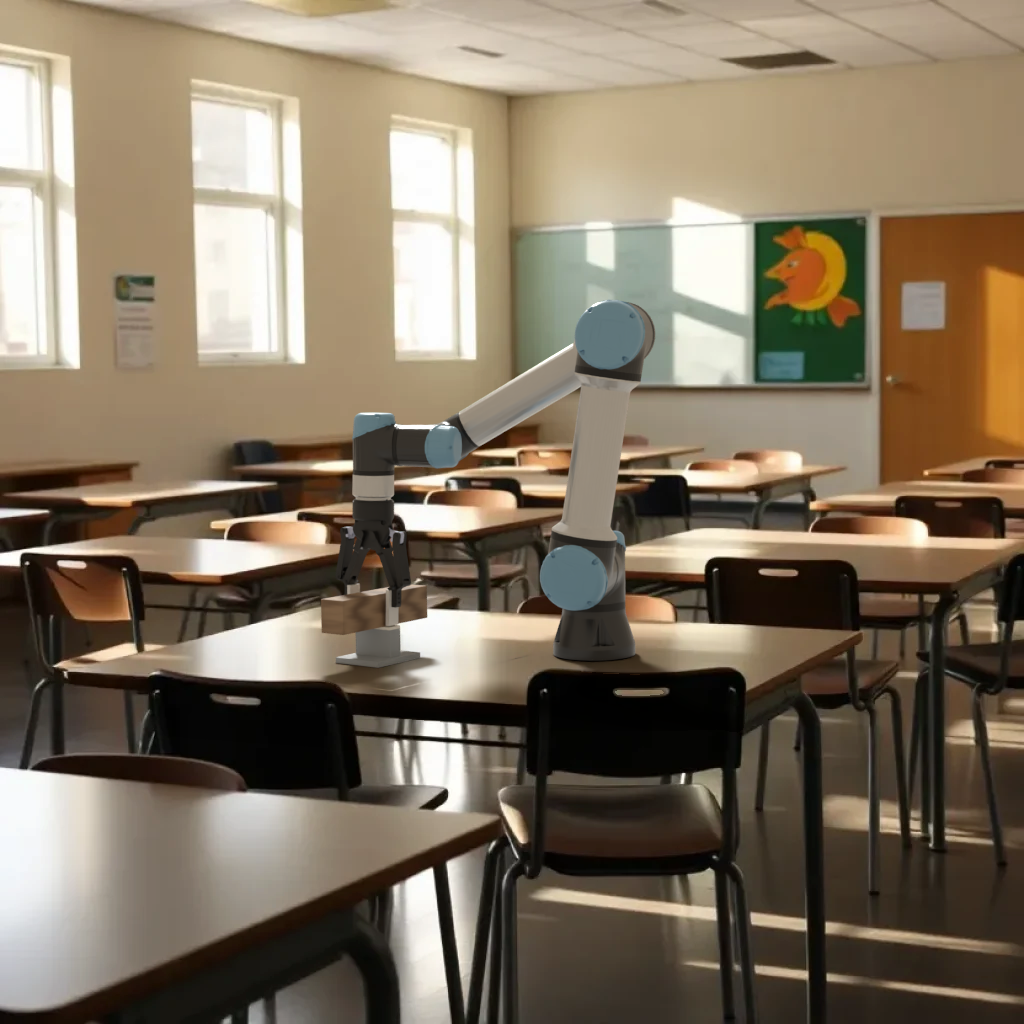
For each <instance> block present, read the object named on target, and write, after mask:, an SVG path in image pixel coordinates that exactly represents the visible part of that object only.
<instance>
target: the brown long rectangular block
mask: <svg viewBox="0 0 1024 1024" xmlns="http://www.w3.org/2000/svg"><path fill="white" fill-rule="evenodd" d="M387 588H389V586H386V587H381V588H376V589H371V590H370V589H369V590H364V591H360V592H358V593H353V594H347V595H345V594H343V595H336V596H332V597H326V598H321V599H320V616H321V617H320V618H321V621H320V622H321V634H328V635H339V636H345V635H351V634H356V632H361V631H365V630H370V629H375V628H380V627H385V626H386V590H388V589H387ZM427 618H428V585H422V584H412V583H411V585H410V586H406V587H404V588H402V591H401V607H399V609H398V624H397V625H399V624H404V623H407V622H412V621H413V622H414V621H417V620H423V619H427Z"/></svg>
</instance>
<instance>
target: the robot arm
mask: <svg viewBox="0 0 1024 1024" xmlns="http://www.w3.org/2000/svg"><path fill="white" fill-rule="evenodd" d="M655 341H656V328H655V324H654V322H653V319H652V317H651V316H650V315H649V313H648V312H647V311H646V310H645V309H644V308H642V307H641V306H639V305H638V304H636V303H632V302H629V301H628V302H627V301H624V300H619V299H605V300H601V301H598V302H596V303H594V304H592V305H591V306H590V307H588V308H587V309H586V310H585V311H584V312H583V313H582V314H581V316H580V317H579V318H578V321H577V322H576V326H575V329H574V340H573V343H571V344H570V345H568V346H566V347H565V348H563V349H561V350H560V351H557V352H556V353H555V354H552V355H551V356H550V357H547V358H546V359H544V360H542V361H541V362H540V363H538V364H536V365H535V366H533V367H531V368H529V369H528V370H525V372H523V373H521V374H519V375H518V376H516V377H515V378H513V379H511V380H509V381H508V382H506V383H505V384H503V385H501V386H500V387H498V388H497V389H494V390H493V391H491V392H490V393H488V394H486V395H485V396H483V397H481V398H480V399H478V400H476V401H475V402H473V403H471V404H470V405H468V406H467V407H465V408H463V409H462V410H460V411H458V412H456V413H455V414H453V415H451V416H450V417H448V418H446V419H445V420H443V421H441V422H438V423H433V424H399V423H396V422H397V421H396V418H395V417H396V416H395V415H394V413H390V412H359V413H357V414H356V415H355V416H354V418H353V426H352V427H353V428H352V429H353V431H352V437H351V440H352V489H351V490H352V492H351V493H352V496H354V497H355V498H354V499H353V500H352V513H351V515H352V518H353V520H354V524H353V525H351V526H344V527H340V530H339V533H340V544H339V545H340V546H339V553H338V557H337V564H336V571H335V579H336V581H340V582H342V583H343V584H344V595H347V594H353V593H358V592H361V584H360V583H358V582H359V580H358V578H359V576H360V572H361V570H362V568H363V564H364V561H365V559H366V557H367V555H368V552H369V551H370V550H372V551H375V554H376V555H377V556H378V557H379V561H380V562H381V563H380V564H381V565H382V569H383V572H384V575H385V578H386V581H387V583H388V587H389V588H387V589H388V590H386V626H392V625H399V624H398V609H399V607H401V591H402V588H404V587H406V586H410V585H411V584H412V581H411V573H410V566H409V559H408V551H407V545H406V544H407V539H408V538H407V536H408V534H407V532H406V531H404V530H403V531H398V530H395V529H394V527H393V524H392V523H393V520H394V518H395V500H394V499H392V497H394V495H395V466H396V467H416V468H418V467H419V468H421V467H422V468H434V469H447V468H454V467H456V466H457V465H458V464H459V463H460V461H461V460H463V459H464V458H466V457H467V456H468V455H469V453H471V452H473V451H475V450H476V449H478V448H479V447H481V446H482V445H484V444H486V443H489V442H490V441H491V440H493V439H494V438H497V437H498V436H500V435H502V434H503V433H504V432H507V431H508V430H510V429H511V428H514V427H515V426H517V425H518V424H520V423H522V422H523V421H525V420H527V419H528V418H530V417H532V416H534V415H535V414H538V413H539V412H540V411H542V410H544V409H546V408H547V407H549V406H551V405H553V404H554V403H556V402H557V401H559V400H561V399H563V398H565V397H566V396H568V395H569V394H571V393H573V392H575V391H576V390H578V389H579V388H580V394H579V399H578V405H577V412H576V420H575V428H574V434H573V439H572V440H573V442H572V446H571V447H572V448H571V455H570V463H569V468H568V475H567V480H566V481H567V482H566V489H565V495H564V496H565V497H564V502H563V509H562V514H561V516H562V517H561V520H560V521H559V522H557V523H556V524H555V525H554V526H552V527H551V532H550V538H549V544H548V545H549V546H548V551H547V555H546V556H545V558H544V559H543V561H542V565H541V566H540V570H539V582H540V586H541V590H542V591H543V593H544V595H545V596H546V597H547V598H548V600H549V601H550V602H551V603H552V604H554V605H555V606H557V607H558V608H560V609H562V610H561V611H562V612H561V617H560V620H559V623H558V626H557V629H556V632H555V633H556V634H555V635H554V640H553V645H552V647H553V648H552V649H553V651H552V652H553V656H554V657H556V658H561V659H565V660H573V661H574V660H575V661H593V662H594V661H612V660H621V659H628V658H631V657H634V656H635V655H636V641H635V639H634V635H633V631H632V629H631V625H630V622H629V619H628V617H627V612H626V610H627V609H626V550H627V546H626V542H625V541H626V540H625V535H624V534H623V532H621V531H620V530H613V529H612V527H611V523H612V519H613V510H614V503H615V497H616V489H617V483H618V477H619V470H620V464H621V457H622V450H623V444H624V443H623V442H624V437H625V432H626V431H625V428H626V422H627V418H628V417H627V416H628V409H629V403H630V396H631V392H632V390H634V389H635V388H636V387H638V386H640V384H641V381H642V375H643V369H644V361H645V360H646V358H647V357H648V356H649V355H650V354H651V352H652V350H653V348H654V345H655ZM355 538H356V540H355Z"/></svg>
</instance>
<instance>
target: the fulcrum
mask: <svg viewBox="0 0 1024 1024" xmlns="http://www.w3.org/2000/svg"><path fill="white" fill-rule="evenodd" d="M420 658H421V652H420V651H419V652H418V651H409V650H403V649H402V650H401V625H399V624H397V625H392V626H385V627H380V628H375V629H370V630H365V631H361V632H356V633H355V652H354V653H349V654H345V655H339V656H335V663H336V664H344V665H350V666H351V665H352V666H360V667H369V668H370V667H371V668H378V669H379V668H383V667H387V666H391V665H395V664H399V663H400V664H401V663H405V662H409V661H412V660H413V661H414V660H418V659H420Z"/></svg>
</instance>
